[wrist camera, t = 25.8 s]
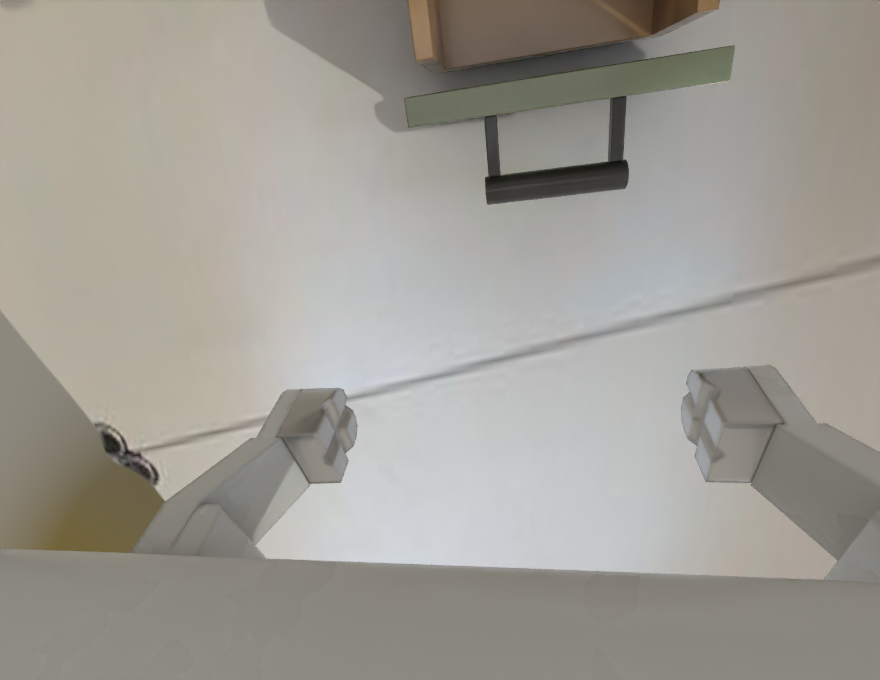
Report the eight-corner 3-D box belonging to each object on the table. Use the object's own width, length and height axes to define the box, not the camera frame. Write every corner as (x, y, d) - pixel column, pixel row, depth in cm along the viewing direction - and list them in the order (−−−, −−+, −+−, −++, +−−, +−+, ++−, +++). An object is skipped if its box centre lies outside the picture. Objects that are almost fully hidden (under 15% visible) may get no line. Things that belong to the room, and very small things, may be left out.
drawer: (662, 171, 25) (714, 188, 19) (437, 198, 27) (422, 221, 21) (701, -256, 18) (807, -445, 12) (389, -174, 20) (345, -299, 14)
